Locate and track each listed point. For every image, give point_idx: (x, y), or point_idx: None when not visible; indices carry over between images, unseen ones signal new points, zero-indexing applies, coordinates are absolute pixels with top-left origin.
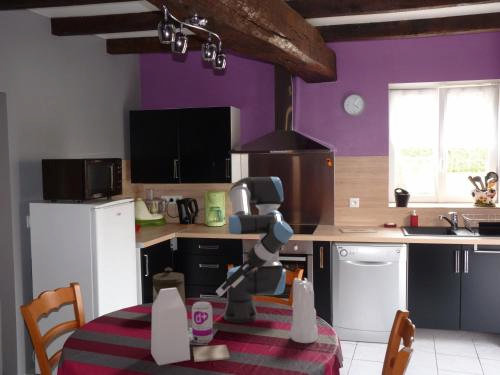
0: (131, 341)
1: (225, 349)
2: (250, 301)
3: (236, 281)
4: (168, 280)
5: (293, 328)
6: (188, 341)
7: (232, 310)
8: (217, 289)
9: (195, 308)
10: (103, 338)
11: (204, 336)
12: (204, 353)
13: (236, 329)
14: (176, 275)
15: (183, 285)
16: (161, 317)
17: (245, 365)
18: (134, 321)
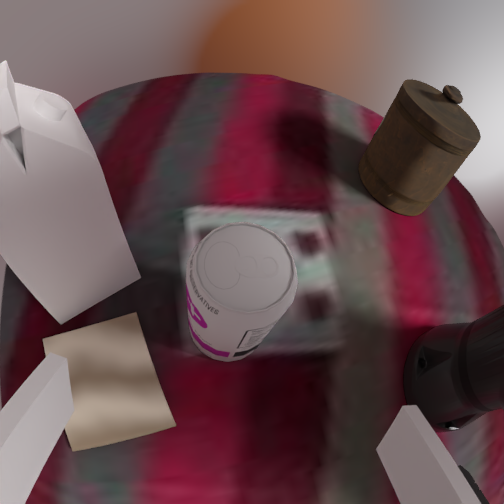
0: (186, 147)
1: (130, 431)
2: (482, 411)
3: (409, 479)
4: (416, 106)
5: None
6: (37, 298)
7: (437, 360)
8: (36, 369)
9: (196, 247)
10: (200, 104)
11: (192, 335)
12: (88, 363)
13: (353, 411)
14: (458, 123)
15: (452, 160)
16: None
17: (44, 496)
18: (315, 128)
